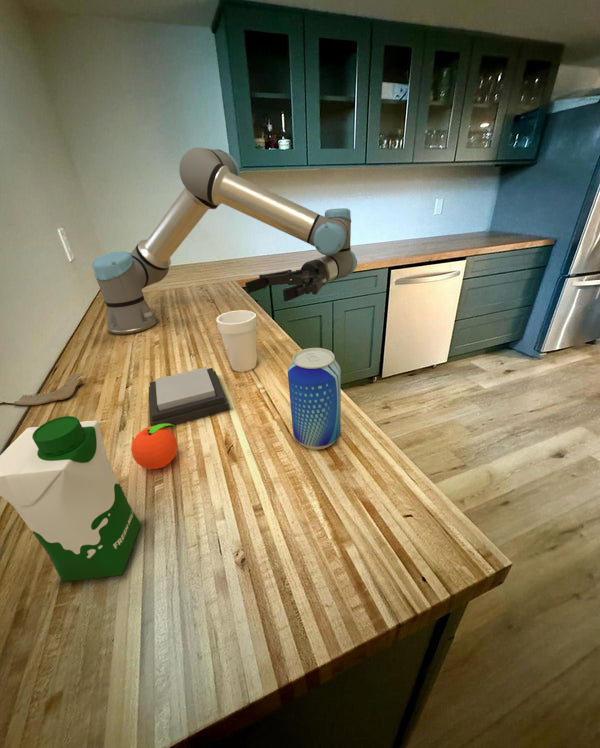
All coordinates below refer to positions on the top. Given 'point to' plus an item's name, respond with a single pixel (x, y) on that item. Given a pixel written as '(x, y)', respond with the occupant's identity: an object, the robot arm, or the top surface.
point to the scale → (188, 405)
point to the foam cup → (239, 338)
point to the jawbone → (52, 393)
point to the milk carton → (70, 498)
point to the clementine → (154, 446)
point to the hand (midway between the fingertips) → (264, 291)
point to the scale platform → (183, 388)
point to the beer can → (315, 397)
